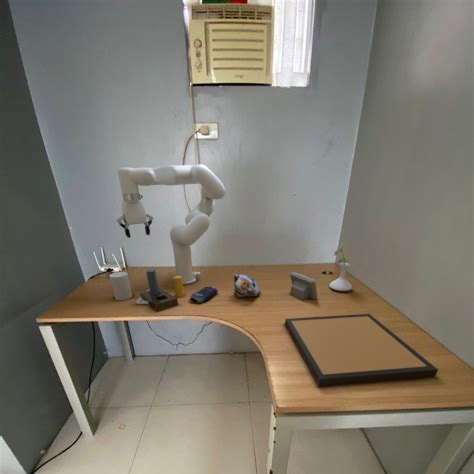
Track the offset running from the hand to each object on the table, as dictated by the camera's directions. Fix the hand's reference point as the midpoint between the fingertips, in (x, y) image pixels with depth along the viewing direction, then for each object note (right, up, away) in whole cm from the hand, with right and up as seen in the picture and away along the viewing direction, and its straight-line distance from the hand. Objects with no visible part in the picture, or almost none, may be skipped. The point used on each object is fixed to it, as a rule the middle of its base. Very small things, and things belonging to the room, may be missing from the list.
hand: (138, 236), depth 126 cm
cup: (-9, -30, +4) cm, 32 cm away
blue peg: (+8, -32, +1) cm, 33 cm away
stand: (+11, -33, -2) cm, 35 cm away
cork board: (+88, -51, -37) cm, 108 cm away
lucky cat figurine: (+54, -29, +5) cm, 62 cm away
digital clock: (+82, -29, +3) cm, 88 cm away
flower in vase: (+104, -26, +10) cm, 107 cm away
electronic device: (+32, -31, +2) cm, 44 cm away
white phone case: (+5, -30, +1) cm, 30 cm away
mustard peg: (+19, -29, +5) cm, 35 cm away
